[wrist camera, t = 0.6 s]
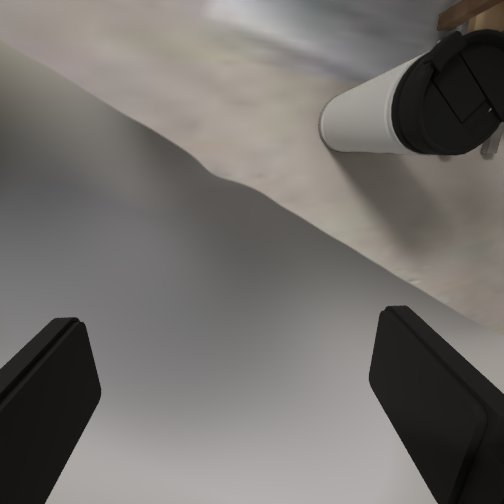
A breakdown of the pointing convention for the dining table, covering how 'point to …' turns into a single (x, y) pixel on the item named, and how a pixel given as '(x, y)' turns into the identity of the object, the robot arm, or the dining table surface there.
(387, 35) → the dining table surface
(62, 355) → the robot arm
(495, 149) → the tunnel track
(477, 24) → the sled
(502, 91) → the travel mug
